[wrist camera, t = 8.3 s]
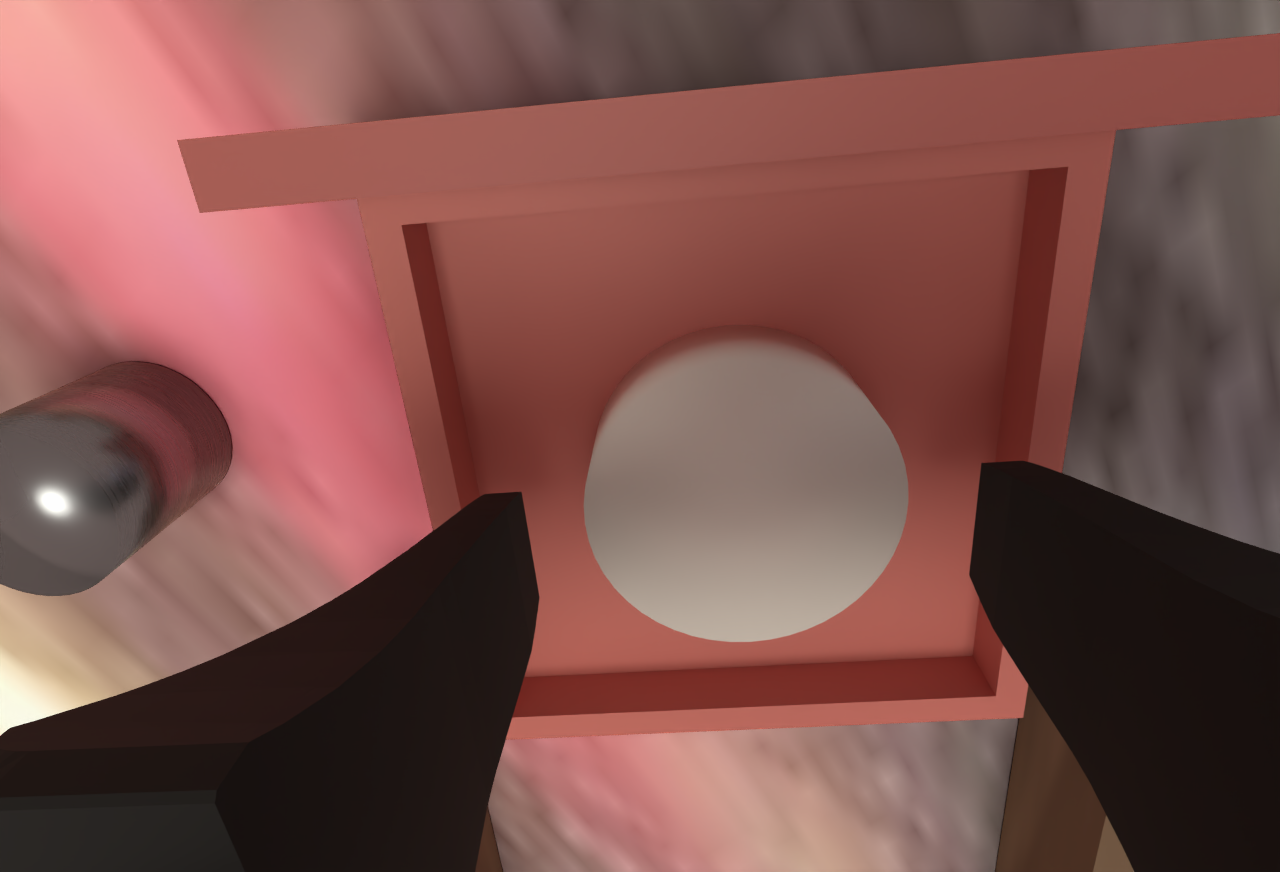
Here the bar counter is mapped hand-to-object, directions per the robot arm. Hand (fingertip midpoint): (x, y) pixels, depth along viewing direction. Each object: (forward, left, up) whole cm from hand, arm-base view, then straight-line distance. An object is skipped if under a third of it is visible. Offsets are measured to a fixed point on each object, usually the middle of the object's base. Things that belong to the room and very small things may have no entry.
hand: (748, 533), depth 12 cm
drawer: (0, 0, -4) cm, 4 cm away
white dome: (0, 0, -3) cm, 3 cm away
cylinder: (+12, -1, -4) cm, 13 cm away
